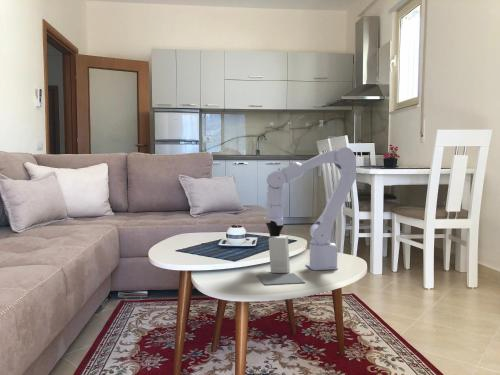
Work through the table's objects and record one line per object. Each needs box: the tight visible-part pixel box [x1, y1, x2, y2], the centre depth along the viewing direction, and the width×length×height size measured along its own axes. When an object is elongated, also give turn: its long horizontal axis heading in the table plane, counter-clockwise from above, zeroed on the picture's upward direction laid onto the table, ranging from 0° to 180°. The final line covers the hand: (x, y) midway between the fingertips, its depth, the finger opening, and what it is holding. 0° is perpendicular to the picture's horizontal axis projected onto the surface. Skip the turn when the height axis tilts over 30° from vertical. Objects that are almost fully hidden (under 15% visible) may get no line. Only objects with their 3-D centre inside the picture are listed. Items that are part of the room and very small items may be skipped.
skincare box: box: [268, 235, 291, 274], centre depth 143 cm, size 6×4×12 cm
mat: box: [255, 272, 306, 286], centre depth 134 cm, size 13×11×1 cm
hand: (274, 242), depth 150 cm, fingers closed
